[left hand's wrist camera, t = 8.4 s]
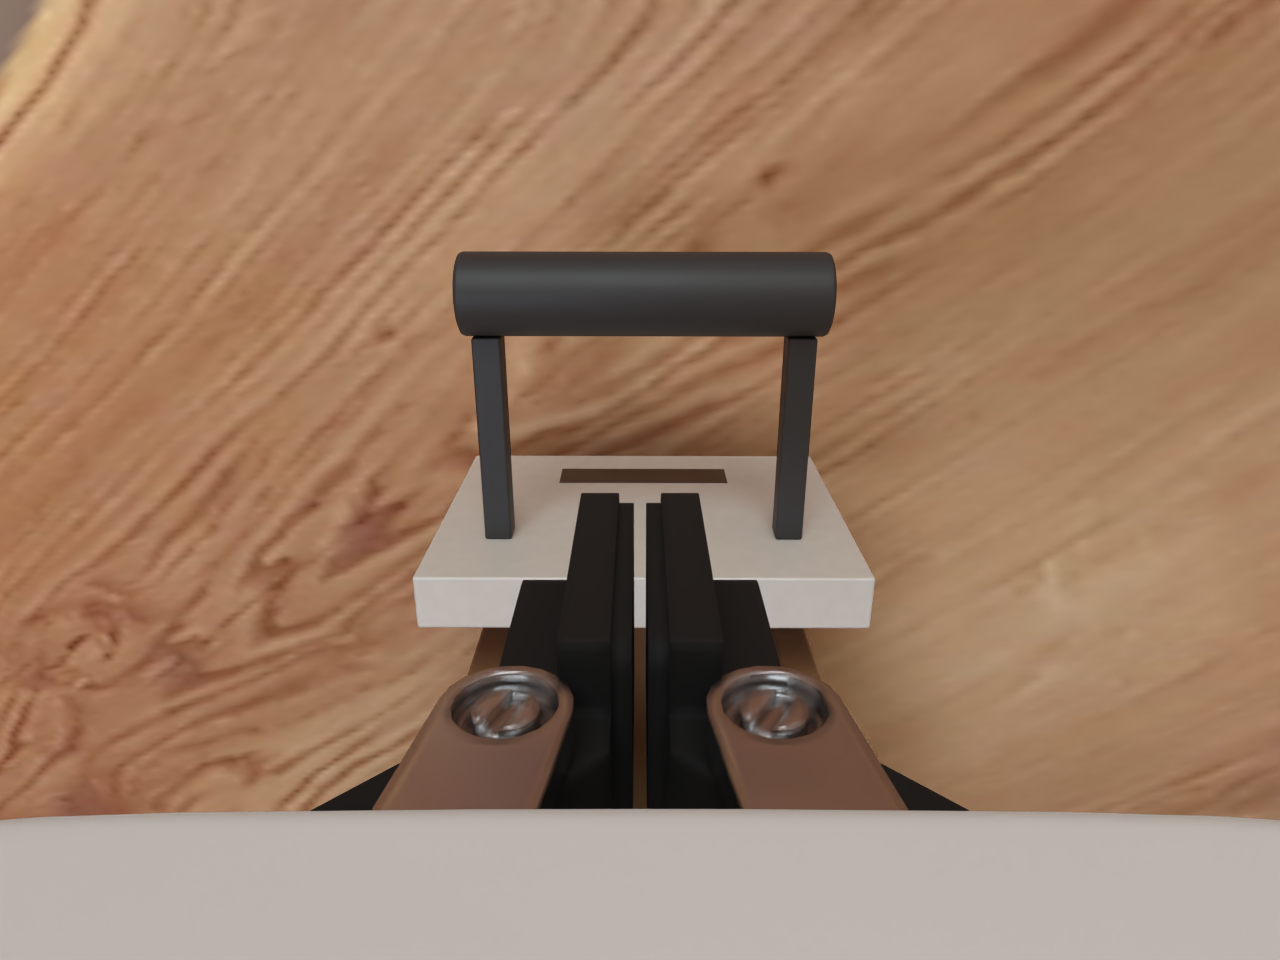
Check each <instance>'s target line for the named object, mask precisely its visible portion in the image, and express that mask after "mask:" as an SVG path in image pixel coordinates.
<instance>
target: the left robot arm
mask: <svg viewBox="0 0 1280 960" xmlns="http://www.w3.org/2000/svg"><path fill="white" fill-rule="evenodd" d="M633 773H634V503H619V493H581V497H580V503H579V509H578V515H577V521H576V527H575V533H574V539H573V544H572V550H571V556H570V562H569V568H568V574H567V580H523V582H522V584H521V587H520V591H519V595H518V598H517V602H516V606H515V610H514V613H513V617H512V621H511V625H510V628H509V632H508V636H507V639H506V643H505V647H504V651H503V654H502V658H501V662H500V666H499V667H496V668H490V669H485V670H482V671H479V672H476V673H474V674H471V675H468V676H466V677H464V678H462V679H461V680H459V681H458V682H456V683H455V684H453V685H451V686H450V687H449V688H448V689H447V691H446V692H445V693H444V694H443V695H442V696H441V697H440V699H439V700H438V702H437V703H436V705H435V707H434V708H433V710H432V712H431V713H430V715H429V717H428V718H427V720H426V722H425V723H424V725H423V726H422V728H421V730H420V731H419V733H418V735H417V736H416V738H415V740H414V741H413V743H412V744H411V746H410V748H409V749H408V751H407V753H406V754H405V756H404V758H403V759H402V761H401V762H400V763H399V764H397V765H395V766H393V767H392V768H390V769H388V770H386V771H384V772H382V773H380V774H378V775H377V776H375V777H373V778H371V779H369V780H367V781H365V782H363V783H362V784H360V785H358V786H356V787H354V788H352V789H350V790H348V791H347V792H345V793H343V794H341V795H339V796H337V797H335V798H333V799H332V800H330V801H328V802H326V803H324V804H322V805H320V806H318V807H317V808H315V809H313V810H311V811H279V812H189V813H154V814H123V815H92V816H61V817H36V818H18V819H7V820H0V960H1280V820H1274V819H1262V818H1243V817H1224V816H1192V815H1156V814H1120V813H1085V812H1014V811H969V810H967V809H965V808H963V807H962V806H960V805H958V804H956V803H954V802H952V801H950V800H948V799H947V798H945V797H943V796H941V795H939V794H937V793H935V792H933V791H932V790H930V789H928V788H926V787H924V786H922V785H920V784H918V783H917V782H915V781H913V780H911V779H909V778H907V777H905V776H903V775H902V774H900V773H898V772H896V771H894V770H892V769H890V768H888V767H887V766H885V765H883V764H881V763H880V762H879V761H878V759H877V758H876V756H875V754H874V753H873V751H872V749H871V748H870V746H869V744H868V743H867V741H866V740H865V738H864V736H863V735H862V733H861V731H860V730H859V728H858V726H857V725H856V723H855V722H854V720H853V718H852V717H851V715H850V713H849V712H848V710H847V708H846V707H845V705H844V703H843V702H842V700H841V699H840V697H839V696H838V695H837V694H836V693H835V692H834V691H833V689H832V688H831V687H830V686H828V685H827V684H825V683H824V682H822V681H821V680H819V679H818V678H816V677H814V676H812V675H809V674H806V673H804V672H801V671H798V670H795V669H790V668H784V667H781V666H780V662H779V658H778V654H777V651H776V647H775V643H774V639H773V636H772V632H771V628H770V625H769V621H768V617H767V613H766V610H765V606H764V602H763V598H762V595H761V591H760V587H759V584H758V582H757V580H713V574H712V568H711V562H710V556H709V550H708V544H707V539H706V533H705V527H704V521H703V515H702V509H701V503H700V497H699V493H661V503H646V774H647V809H633Z"/></svg>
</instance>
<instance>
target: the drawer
mask: <svg viewBox="0 0 1280 960" xmlns="http://www.w3.org/2000/svg"><path fill="white" fill-rule="evenodd" d="M836 292H837V281H836V269H835V264H834V260H833V257H832V255H831V254H829V253H827V252H461V253H459V254H458V255H457V257H456V261H455V264H454V271H453V304H454V312H455V317H456V322H457V325H458V328H459V330H460V332H461V333H462V334H463V335H465V336H473V338H472V340H471V343H472V357H473V371H474V385H475V399H476V413H477V427H478V441H479V455H480V456H476V458H475V459H474V461H473V463H472V465H471V467H470V469H469V471H468V473H467V475H466V477H465V479H464V481H463V482H462V484H461V486H460V488H459V490H458V492H457V494H456V496H455V498H454V500H453V502H452V504H451V506H450V507H449V509H448V511H447V513H446V515H445V517H444V519H443V521H442V523H441V525H440V527H439V529H438V531H437V532H436V534H435V536H434V538H433V540H432V542H431V544H430V546H429V548H428V550H427V552H426V554H425V556H424V557H423V559H422V561H421V563H420V565H419V567H418V569H417V571H416V573H415V575H414V577H413V587H414V596H415V605H416V615H417V624H418V627H482V628H483V630H482V633H481V636H480V639H479V642H478V645H477V648H476V651H475V654H474V657H473V661H472V664H471V667H470V670H469V673H468V675H471V674H474V673H476V672H479V671H482V670H485V669H490V668H496V667H499V666H500V662H501V658H502V654H503V651H504V647H505V643H506V639H507V636H508V632H509V628H510V625H511V621H512V617H513V613H514V610H515V606H516V602H517V598H518V595H519V591H520V587H521V584H522V582H523V580H567V574H568V568H569V562H570V556H571V550H572V544H573V539H574V533H575V527H576V521H577V515H578V509H579V503H580V497H581V493H619V503H634V773H633V809H647V774H646V503H661V493H699V497H700V503H701V509H702V515H703V521H704V527H705V533H706V539H707V544H708V550H709V556H710V562H711V568H712V574H713V580H757V582H758V584H759V587H760V591H761V595H762V598H763V602H764V606H765V610H766V613H767V617H768V621H769V625H770V628H771V632H772V636H773V639H774V643H775V647H776V651H777V654H778V658H779V662H780V666H781V667H784V668H790V669H795V670H798V671H801V672H804V673H806V674H809V675H812V676H814V677H816V678H818V679H819V680H820V677H819V674H818V671H817V668H816V665H815V662H814V659H813V656H812V653H811V650H810V647H809V644H808V641H807V637H806V634H805V631H804V628H869V627H870V620H871V612H872V603H873V594H874V586H875V578H874V576H873V574H872V572H871V570H870V569H869V567H868V565H867V563H866V561H865V559H864V557H863V555H862V553H861V552H860V550H859V548H858V546H857V544H856V542H855V540H854V538H853V536H852V535H851V533H850V531H849V529H848V527H847V525H846V523H845V521H844V520H843V518H842V516H841V514H840V512H839V510H838V508H837V506H836V504H835V503H834V501H833V499H832V497H831V495H830V493H829V491H828V489H827V487H826V486H825V484H824V482H823V480H822V478H821V476H820V474H819V472H818V471H817V469H816V467H815V465H814V463H813V461H812V459H811V457H809V456H808V454H809V441H810V429H811V416H812V403H813V390H814V378H815V365H816V352H817V339H816V338H815V337H823V336H825V335H827V334H828V333H829V331H830V328H831V326H832V322H833V318H834V313H835V306H836ZM504 336H784V351H783V366H782V382H781V398H780V413H779V429H778V445H777V456H511V447H510V429H509V412H508V394H507V377H506V359H505V342H504Z"/></svg>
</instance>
